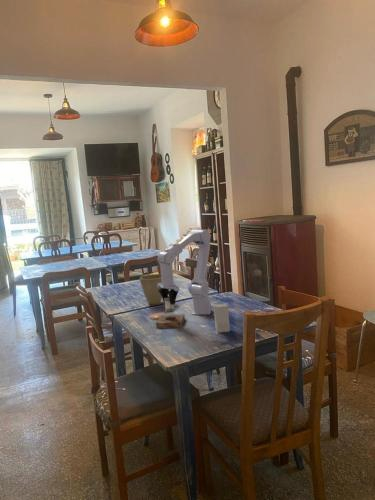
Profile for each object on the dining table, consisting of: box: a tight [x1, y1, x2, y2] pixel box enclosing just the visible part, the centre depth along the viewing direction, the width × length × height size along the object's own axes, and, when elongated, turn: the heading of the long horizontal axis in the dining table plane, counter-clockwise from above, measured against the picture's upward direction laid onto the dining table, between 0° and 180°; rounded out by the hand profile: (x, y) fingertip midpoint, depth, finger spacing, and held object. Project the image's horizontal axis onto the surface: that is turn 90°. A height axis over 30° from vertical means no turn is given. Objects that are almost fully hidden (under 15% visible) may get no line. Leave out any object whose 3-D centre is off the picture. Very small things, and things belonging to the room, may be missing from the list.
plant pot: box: [139, 273, 163, 305], centre depth 226 cm, size 15×15×16 cm
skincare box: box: [213, 303, 231, 334], centre depth 171 cm, size 6×4×12 cm
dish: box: [149, 312, 167, 321], centre depth 199 cm, size 9×9×1 cm
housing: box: [155, 313, 186, 329], centre depth 187 cm, size 12×12×2 cm
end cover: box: [164, 295, 175, 314], centre depth 186 cm, size 5×5×7 cm
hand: (169, 303), depth 186 cm, fingers closed on end cover, 5 cm apart
